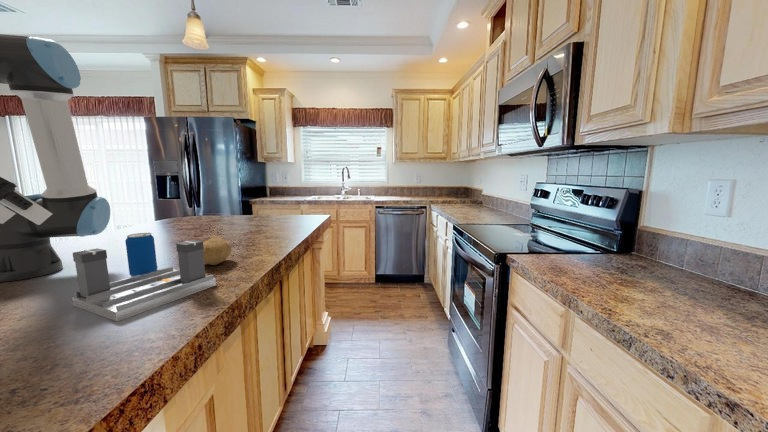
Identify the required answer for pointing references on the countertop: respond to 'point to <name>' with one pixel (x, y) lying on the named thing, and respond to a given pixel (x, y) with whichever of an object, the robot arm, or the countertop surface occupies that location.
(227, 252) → the potato
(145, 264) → the beverage can
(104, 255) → the fader near
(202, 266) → the fader far
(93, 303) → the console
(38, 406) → the countertop surface
